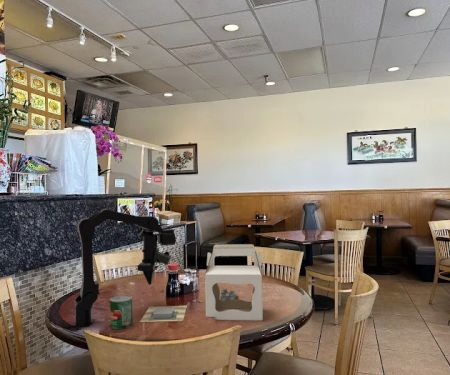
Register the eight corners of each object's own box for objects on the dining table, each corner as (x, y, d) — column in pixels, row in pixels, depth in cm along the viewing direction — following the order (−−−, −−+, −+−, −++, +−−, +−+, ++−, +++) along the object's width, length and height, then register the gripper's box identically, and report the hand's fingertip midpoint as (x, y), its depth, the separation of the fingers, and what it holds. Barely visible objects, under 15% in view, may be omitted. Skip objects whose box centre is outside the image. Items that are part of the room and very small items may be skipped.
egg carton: (222, 295, 168) (222, 287, 168) (237, 296, 167) (237, 287, 167) (218, 302, 157) (218, 293, 158) (235, 302, 156) (234, 293, 156)
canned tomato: (136, 325, 130) (136, 295, 130) (125, 333, 122) (125, 301, 123) (117, 323, 132) (117, 294, 132) (105, 331, 124) (105, 300, 125)
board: (182, 323, 131) (182, 320, 131) (139, 325, 130) (139, 321, 130) (187, 308, 149) (187, 305, 149) (149, 309, 148) (149, 306, 148)
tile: (174, 311, 141) (171, 318, 133) (156, 311, 141) (153, 318, 133) (174, 307, 141) (171, 313, 133) (156, 307, 141) (153, 314, 133)
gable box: (205, 319, 135) (203, 246, 135) (210, 308, 148) (208, 242, 149) (263, 320, 132) (261, 246, 133) (263, 309, 146) (261, 242, 146)
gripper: (165, 249, 136) (165, 290, 136) (173, 243, 155) (172, 279, 155) (137, 249, 137) (136, 290, 136) (147, 243, 155) (147, 279, 155)
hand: (150, 284), depth 145 cm, fingers closed
